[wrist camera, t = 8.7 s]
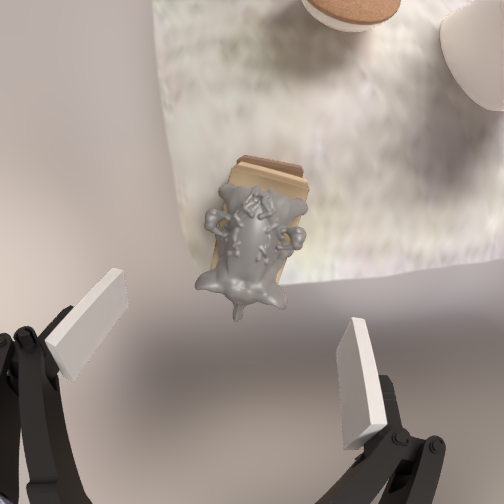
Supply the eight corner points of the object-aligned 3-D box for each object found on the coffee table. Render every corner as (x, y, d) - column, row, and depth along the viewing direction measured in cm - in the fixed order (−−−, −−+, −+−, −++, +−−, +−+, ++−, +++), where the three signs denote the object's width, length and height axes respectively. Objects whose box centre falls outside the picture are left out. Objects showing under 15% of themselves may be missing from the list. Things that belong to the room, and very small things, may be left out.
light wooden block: (241, 161, 28) (231, 168, 23) (306, 179, 27) (309, 189, 23) (219, 258, 33) (208, 280, 29) (275, 274, 33) (272, 298, 29)
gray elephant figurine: (304, 173, 23) (307, 187, 16) (313, 293, 27) (316, 343, 20) (203, 185, 25) (166, 204, 18) (225, 297, 29) (204, 344, 22)
